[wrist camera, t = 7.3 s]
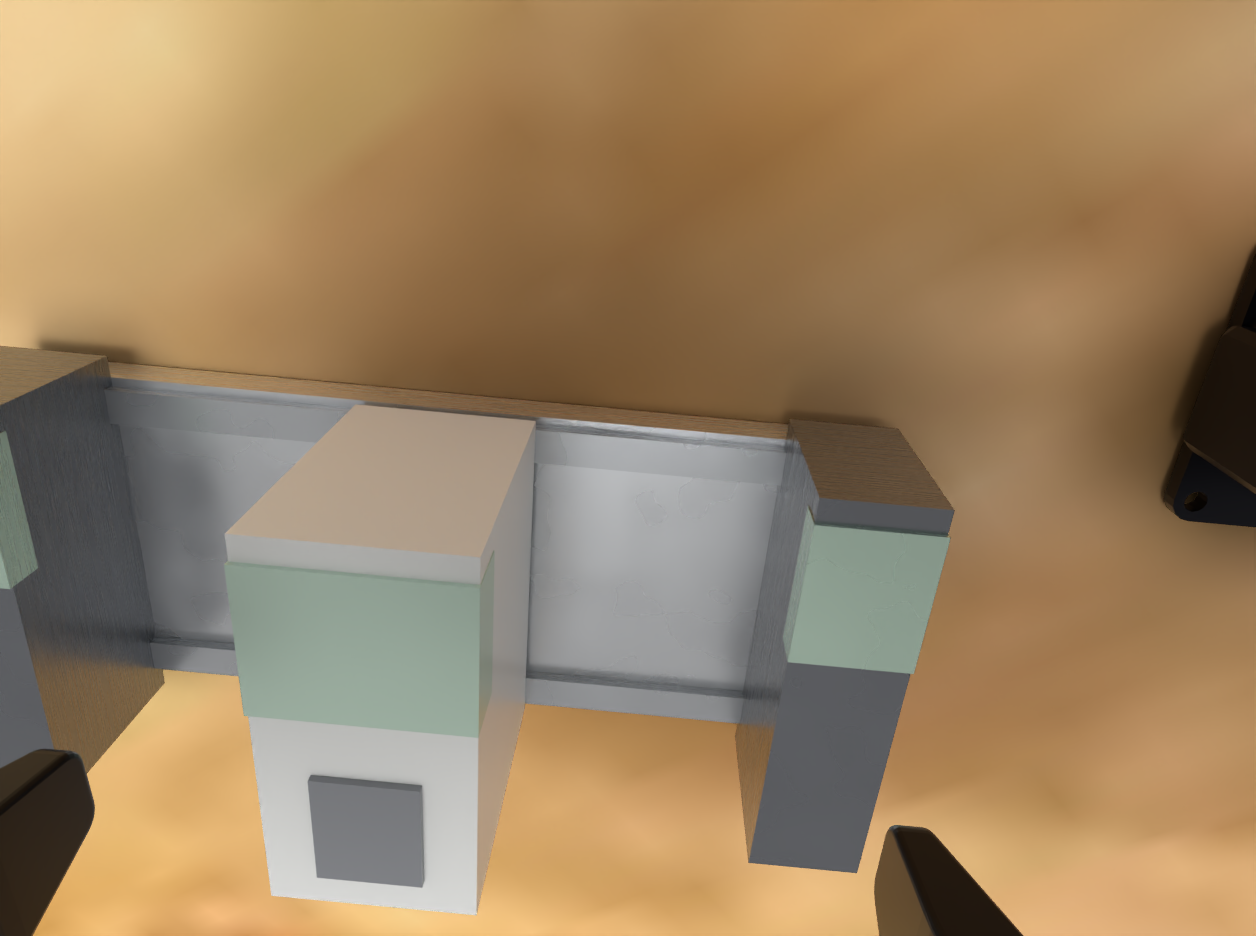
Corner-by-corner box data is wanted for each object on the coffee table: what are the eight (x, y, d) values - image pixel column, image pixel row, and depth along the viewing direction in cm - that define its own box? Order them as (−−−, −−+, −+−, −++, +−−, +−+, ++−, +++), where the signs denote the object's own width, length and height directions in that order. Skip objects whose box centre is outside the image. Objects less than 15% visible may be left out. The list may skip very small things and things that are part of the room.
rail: (887, 413, 19) (957, 512, 15) (819, 719, 23) (858, 877, 18) (30, 334, 20) (-169, 408, 15) (97, 651, 23) (-46, 790, 19)
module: (536, 420, 19) (480, 562, 13) (525, 708, 22) (475, 922, 16) (354, 404, 19) (218, 538, 13) (370, 694, 22) (267, 902, 16)
